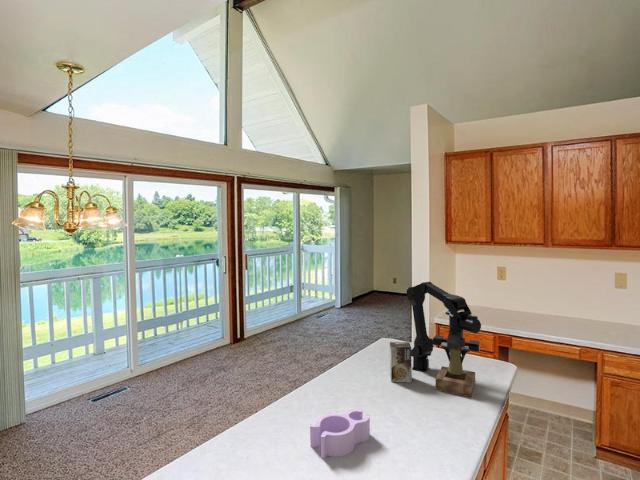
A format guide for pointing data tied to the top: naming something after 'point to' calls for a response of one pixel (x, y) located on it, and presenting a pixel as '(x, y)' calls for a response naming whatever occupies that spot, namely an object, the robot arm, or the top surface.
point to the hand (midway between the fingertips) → (455, 362)
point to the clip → (340, 432)
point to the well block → (455, 382)
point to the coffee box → (400, 362)
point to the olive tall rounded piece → (455, 362)
